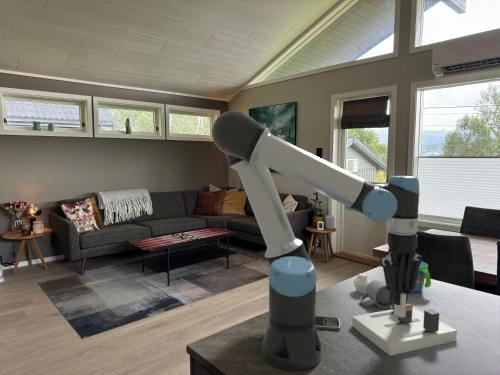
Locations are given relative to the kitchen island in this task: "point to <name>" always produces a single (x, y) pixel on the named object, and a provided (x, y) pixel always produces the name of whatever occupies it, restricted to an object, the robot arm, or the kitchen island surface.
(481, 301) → the kitchen island surface
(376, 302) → the ceramic mug
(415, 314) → the panel
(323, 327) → the cell phone
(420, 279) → the snack cup
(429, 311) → the block
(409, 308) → the block
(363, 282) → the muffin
